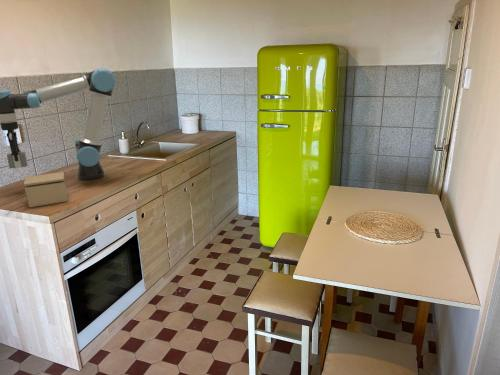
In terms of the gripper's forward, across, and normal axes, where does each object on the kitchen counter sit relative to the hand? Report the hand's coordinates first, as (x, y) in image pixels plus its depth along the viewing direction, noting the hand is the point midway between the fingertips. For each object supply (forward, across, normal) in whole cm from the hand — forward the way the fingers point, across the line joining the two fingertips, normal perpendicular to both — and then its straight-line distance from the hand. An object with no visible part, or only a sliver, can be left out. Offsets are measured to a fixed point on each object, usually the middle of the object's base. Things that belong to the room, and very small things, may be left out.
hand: (18, 165), depth 199 cm
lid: (+4, +21, +12) cm, 25 cm away
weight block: (0, 0, 0) cm, 0 cm away
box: (+15, +21, +12) cm, 28 cm away
